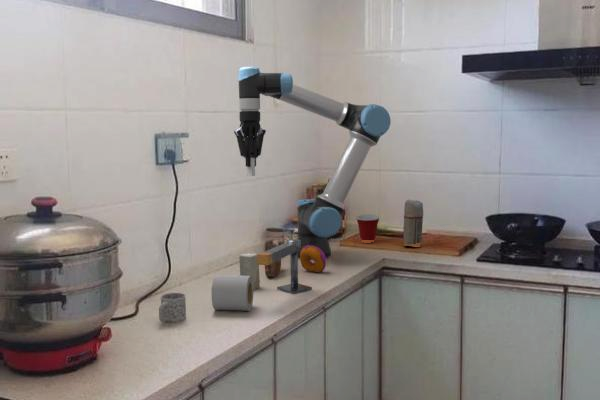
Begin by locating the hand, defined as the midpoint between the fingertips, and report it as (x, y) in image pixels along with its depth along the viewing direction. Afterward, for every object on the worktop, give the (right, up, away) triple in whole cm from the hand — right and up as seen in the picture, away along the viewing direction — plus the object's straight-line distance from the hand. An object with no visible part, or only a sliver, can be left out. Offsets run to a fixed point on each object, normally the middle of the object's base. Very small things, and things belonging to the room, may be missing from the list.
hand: (251, 175), depth 234 cm
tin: (+8, -36, -6) cm, 37 cm away
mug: (-18, -42, -58) cm, 74 cm away
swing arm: (+12, -26, -38) cm, 47 cm away
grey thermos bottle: (+66, -29, +40) cm, 83 cm away
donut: (+23, -35, -4) cm, 42 cm away
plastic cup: (+48, -28, +50) cm, 75 cm away
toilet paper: (-2, -41, -48) cm, 63 cm away
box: (+1, -38, -24) cm, 45 cm away
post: (+16, -38, -27) cm, 49 cm away
